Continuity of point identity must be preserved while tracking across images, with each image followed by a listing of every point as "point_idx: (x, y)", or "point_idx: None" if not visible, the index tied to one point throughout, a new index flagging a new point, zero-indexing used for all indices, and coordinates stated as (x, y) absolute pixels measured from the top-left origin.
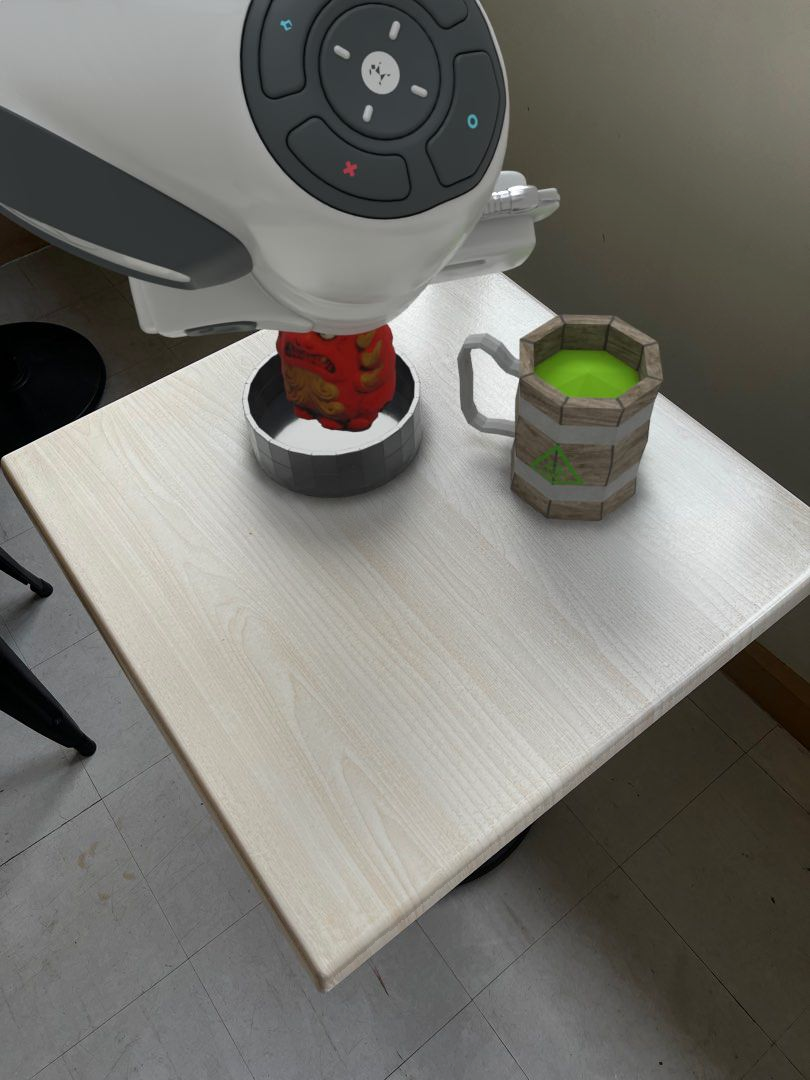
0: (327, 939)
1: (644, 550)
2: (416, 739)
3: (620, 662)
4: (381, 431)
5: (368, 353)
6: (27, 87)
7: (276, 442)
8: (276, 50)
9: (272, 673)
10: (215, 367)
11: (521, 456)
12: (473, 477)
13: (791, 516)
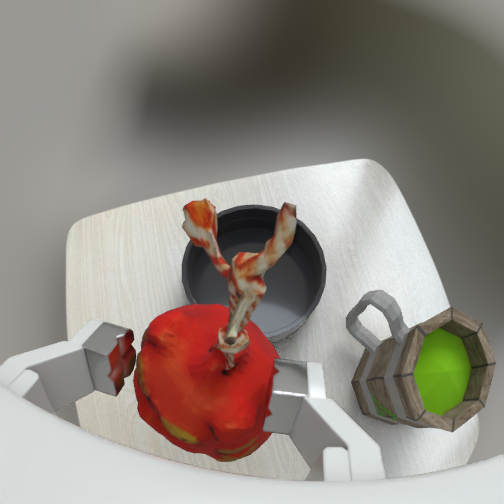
0: None
1: (402, 451)
2: None
3: None
4: (283, 298)
5: (232, 457)
6: None
7: (192, 301)
8: None
9: (142, 451)
10: (197, 191)
11: (368, 385)
12: (331, 362)
13: (475, 439)
